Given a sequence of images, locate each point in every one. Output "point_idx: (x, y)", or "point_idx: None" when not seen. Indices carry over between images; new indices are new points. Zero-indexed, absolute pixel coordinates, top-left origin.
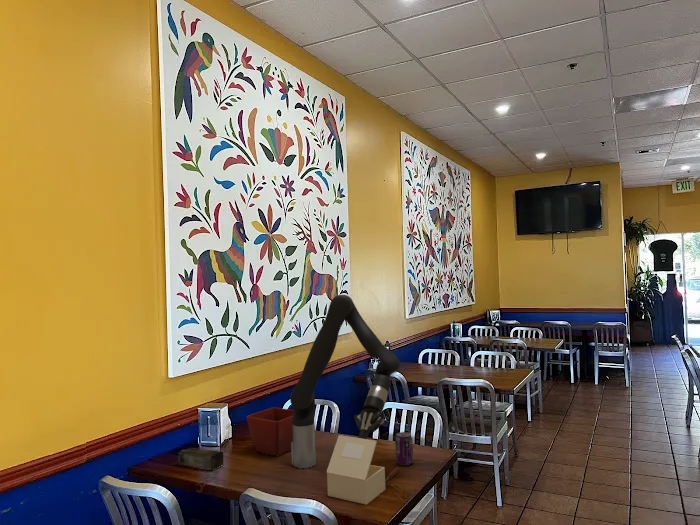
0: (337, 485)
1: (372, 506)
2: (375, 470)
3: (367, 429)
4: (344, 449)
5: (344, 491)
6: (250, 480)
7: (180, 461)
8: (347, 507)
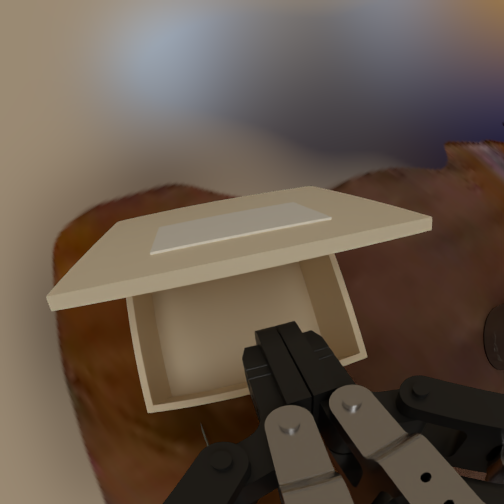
0: None
1: None
2: (199, 396)
3: (266, 430)
4: (303, 209)
5: None
6: (477, 188)
7: None
8: None
